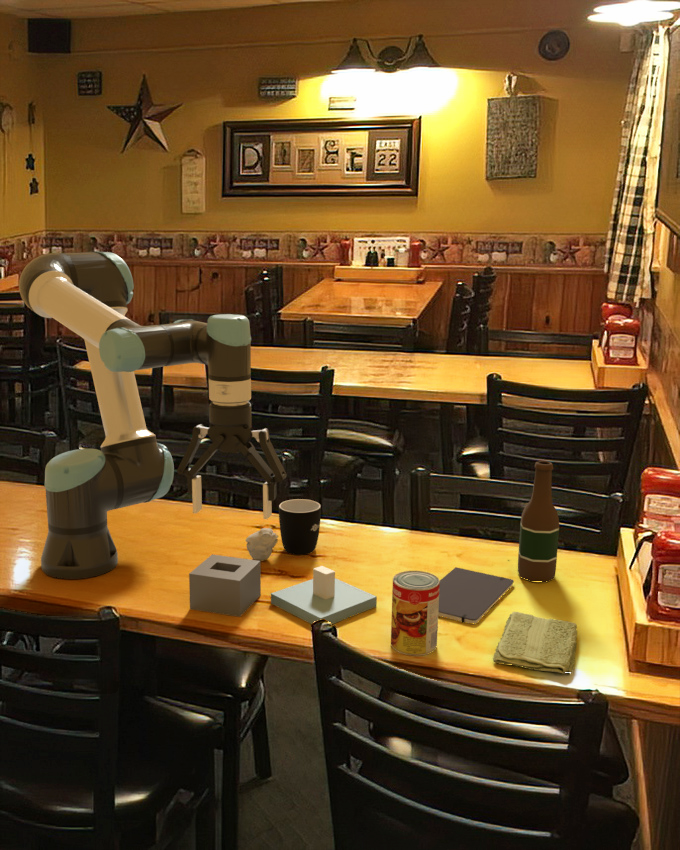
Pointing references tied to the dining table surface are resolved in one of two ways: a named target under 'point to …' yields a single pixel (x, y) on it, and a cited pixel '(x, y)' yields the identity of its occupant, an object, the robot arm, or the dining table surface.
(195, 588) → the slotted gray box
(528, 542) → the beer bottle
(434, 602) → the canned food
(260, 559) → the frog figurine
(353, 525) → the dining table surface
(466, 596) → the notebook
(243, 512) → the dining table surface
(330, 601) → the base
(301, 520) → the mug
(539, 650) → the washcloth
